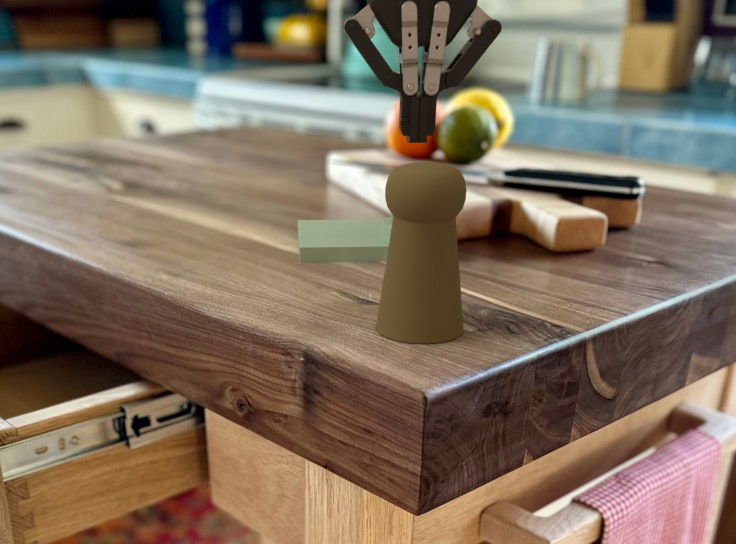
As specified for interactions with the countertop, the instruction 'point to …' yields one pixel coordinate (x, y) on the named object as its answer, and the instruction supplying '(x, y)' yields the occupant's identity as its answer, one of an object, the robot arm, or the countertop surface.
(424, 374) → the countertop surface
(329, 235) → the mint green base plate
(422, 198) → the cork
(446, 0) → the robot arm
